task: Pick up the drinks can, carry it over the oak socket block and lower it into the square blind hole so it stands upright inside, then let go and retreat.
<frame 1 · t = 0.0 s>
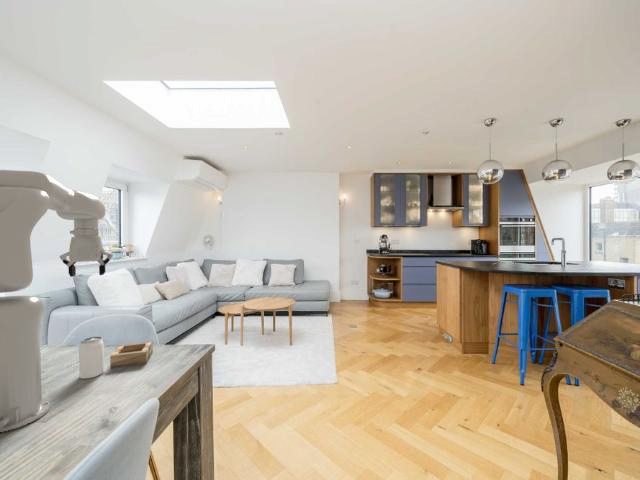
hand: (87, 275, 115), 31 cm above the table, tool pointing down, fingers open, 9 cm apart
socket block: (132, 360, 107), on the table
can: (92, 375, 96), on the table
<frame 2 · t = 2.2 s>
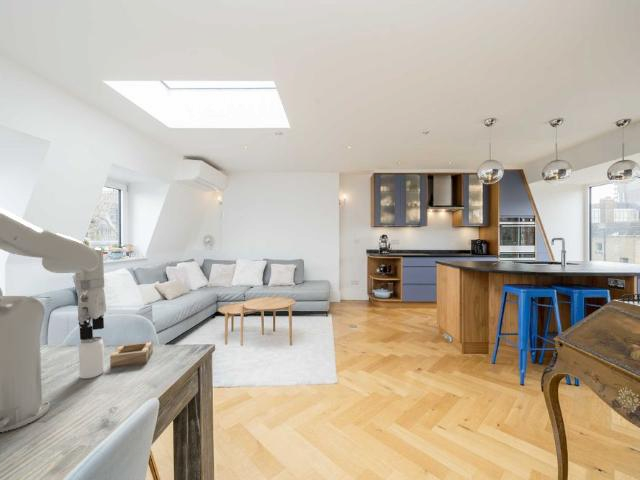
hand: (92, 333, 96), 14 cm above the table, tool pointing down, fingers open, 9 cm apart
nothing on the table moved.
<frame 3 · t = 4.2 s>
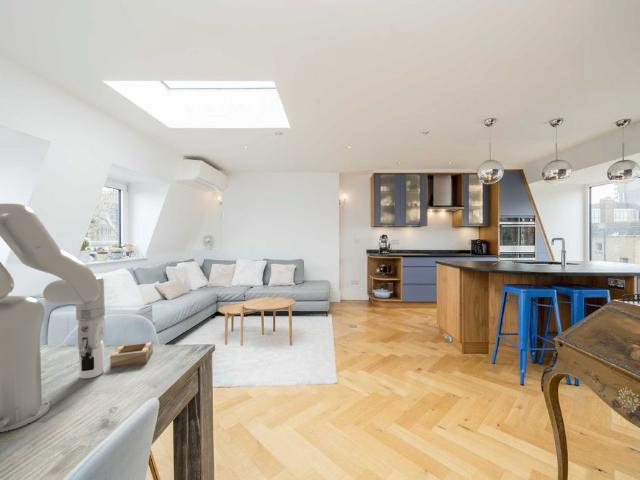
hand: (92, 365, 96), 3 cm above the table, tool pointing down, fingers closed on can, 6 cm apart
can: (92, 375, 96), on the table, touching gripper
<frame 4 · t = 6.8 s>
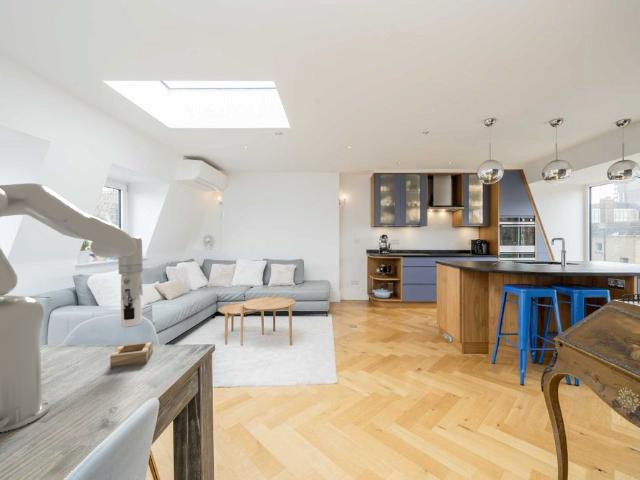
hand: (131, 316, 107), 17 cm above the table, tool pointing down, fingers closed on can, 6 cm apart
can: (131, 325, 106), point 13 cm above the table, touching gripper
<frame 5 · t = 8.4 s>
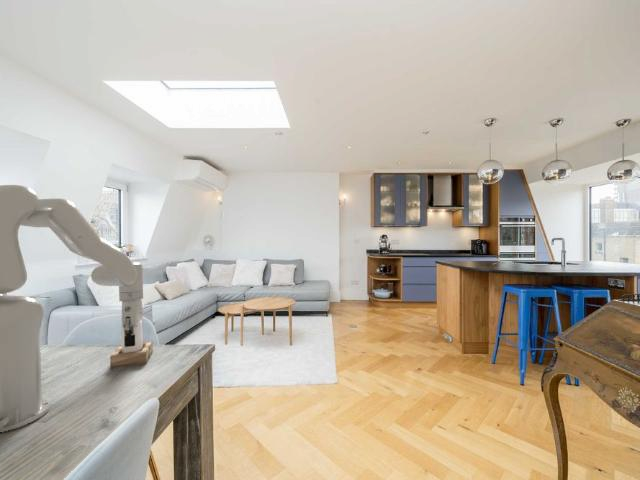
hand: (132, 342, 107), 7 cm above the table, tool pointing down, fingers closed on can, 6 cm apart
can: (132, 351, 107), point 3 cm above the table, touching gripper
when the fingers open (6 cm above the table, at t = 9.5 s): can drops 2 cm, resting on socket block.
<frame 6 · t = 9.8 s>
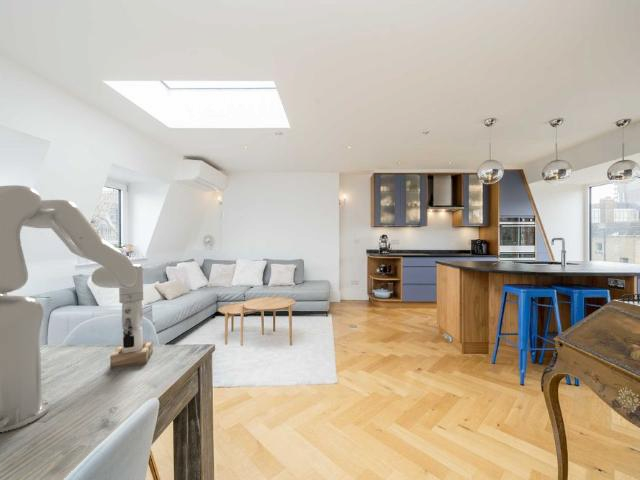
hand: (132, 342, 107), 7 cm above the table, tool pointing down, fingers open, 9 cm apart
can: (132, 357, 107), point 1 cm above the table, touching socket block
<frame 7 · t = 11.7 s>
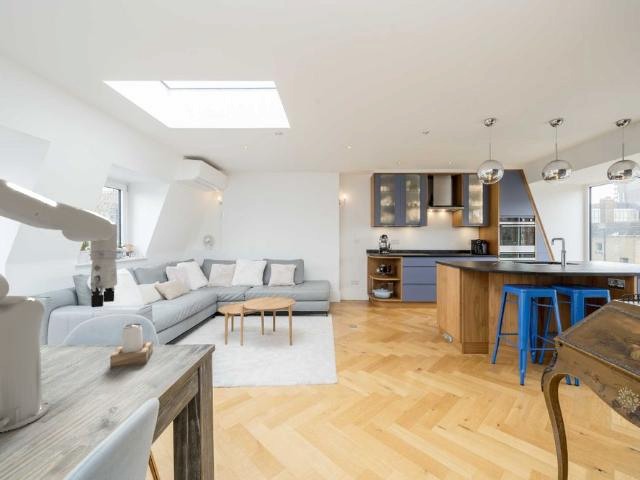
hand: (103, 304, 101), 23 cm above the table, tool pointing down, fingers open, 9 cm apart
nothing on the table moved.
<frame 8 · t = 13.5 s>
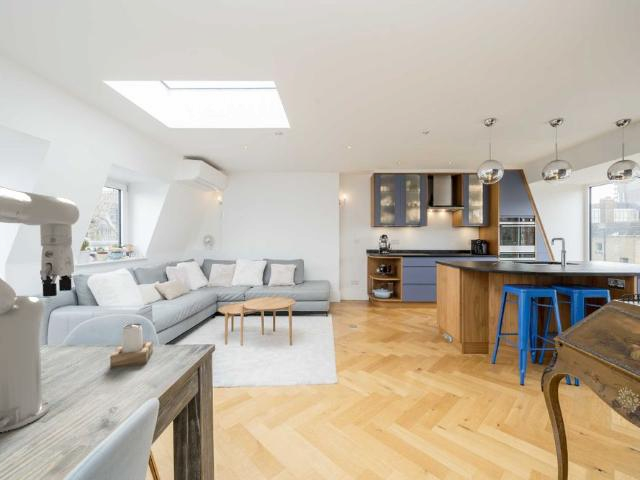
hand: (58, 293, 93), 28 cm above the table, tool pointing down, fingers open, 9 cm apart
nothing on the table moved.
at the end: can 0.2 cm off-centre on the socket block, point 0.8 cm above the socket block's base; can tilted 0°; the gripper is holding nothing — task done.
